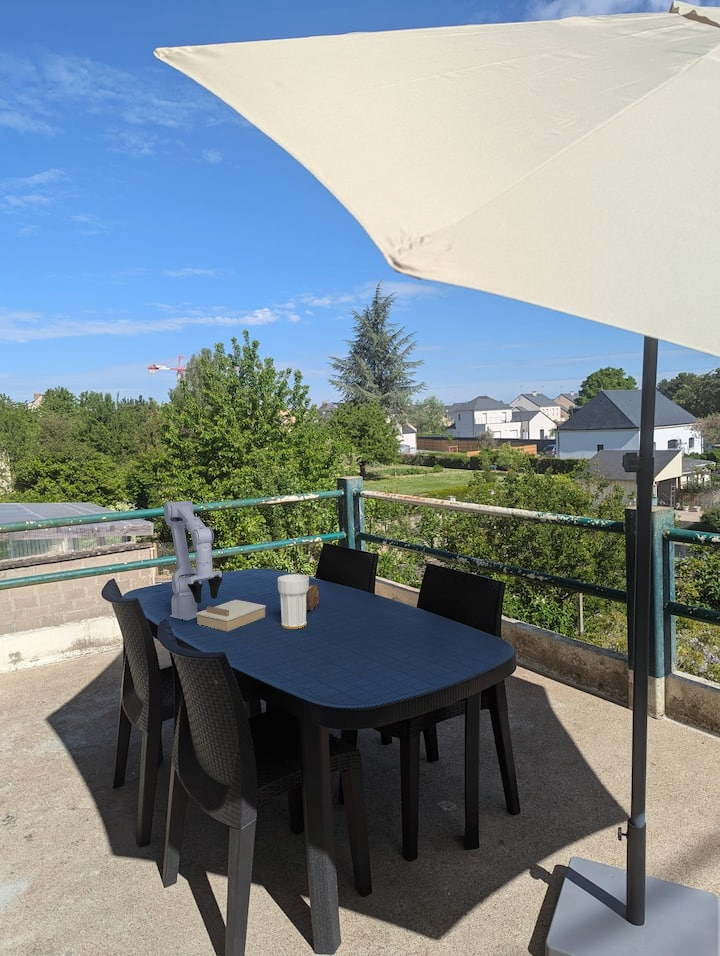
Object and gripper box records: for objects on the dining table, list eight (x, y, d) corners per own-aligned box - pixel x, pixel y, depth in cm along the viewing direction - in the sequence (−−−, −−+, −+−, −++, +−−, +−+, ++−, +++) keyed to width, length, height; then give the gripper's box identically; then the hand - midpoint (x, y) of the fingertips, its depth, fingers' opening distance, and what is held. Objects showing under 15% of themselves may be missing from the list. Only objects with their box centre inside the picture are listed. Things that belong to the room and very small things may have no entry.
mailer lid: (196, 614, 239) (195, 607, 238) (235, 601, 256) (235, 594, 256) (227, 621, 230) (227, 614, 230) (265, 607, 247) (265, 600, 247)
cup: (271, 625, 237) (270, 578, 236) (295, 618, 246) (294, 572, 244) (292, 632, 230) (291, 583, 228) (316, 624, 238) (315, 577, 236)
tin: (310, 613, 252) (309, 591, 251) (302, 613, 253) (301, 591, 252) (320, 602, 267) (319, 582, 266) (312, 602, 267) (312, 581, 266)
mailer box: (197, 624, 239) (197, 615, 239) (235, 610, 256) (235, 602, 256) (227, 631, 231) (227, 621, 231) (265, 616, 248) (264, 607, 247)
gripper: (196, 566, 223) (198, 605, 223) (226, 559, 235) (229, 597, 236) (182, 565, 227) (184, 604, 227) (212, 558, 239) (214, 595, 239)
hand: (206, 600), depth 232 cm, fingers open, 7 cm apart
